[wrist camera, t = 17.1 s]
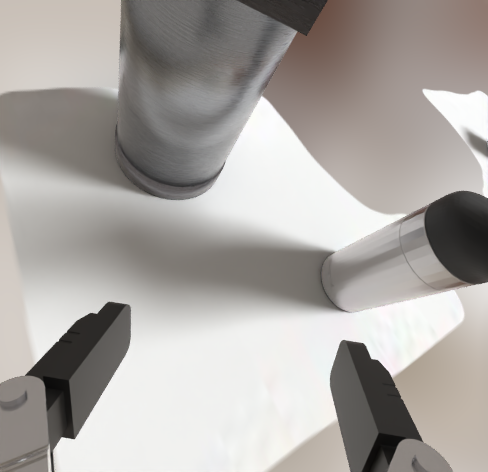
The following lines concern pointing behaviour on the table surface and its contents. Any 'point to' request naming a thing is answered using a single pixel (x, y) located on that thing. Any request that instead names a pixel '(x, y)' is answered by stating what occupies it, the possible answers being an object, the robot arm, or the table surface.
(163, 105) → the canister
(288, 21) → the lid
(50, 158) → the table surface
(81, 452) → the table surface
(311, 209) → the table surface
